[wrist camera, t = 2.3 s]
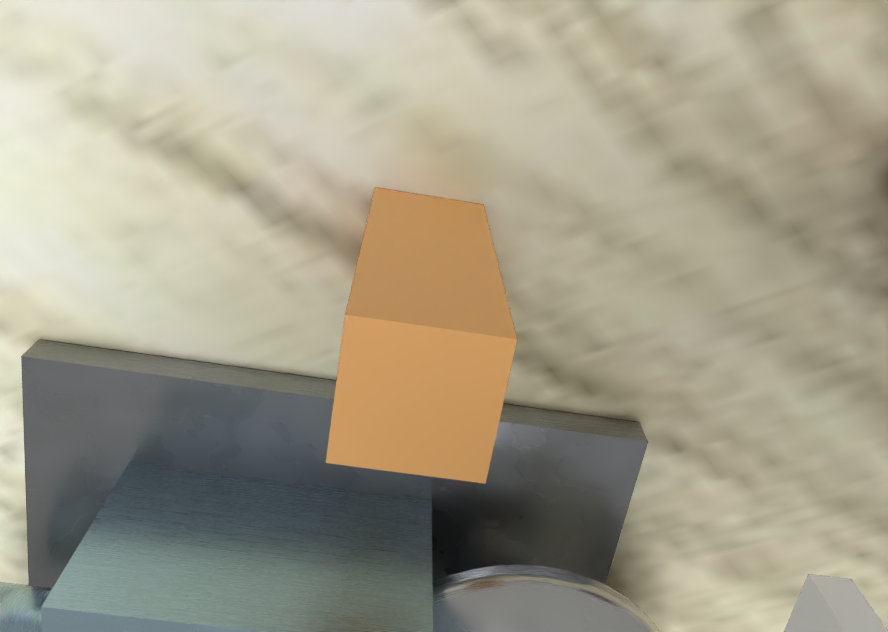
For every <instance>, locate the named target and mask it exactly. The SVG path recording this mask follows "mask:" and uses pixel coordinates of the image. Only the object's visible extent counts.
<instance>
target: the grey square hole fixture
mask: <svg viewBox="0 0 888 632" xmlns="http://www.w3.org/2000/svg"><path fill="white" fill-rule="evenodd" d="M21 358H22V388H23V419H24V450H25V481H26V511H27V542H28V573H29V585H23V584H14V583H5V582H0V605H1V617H0V632H659V631H658V629H657V628H656V626H655V625H654V623H653V622H652V620H651V619H650V618H649V617H648V616H647V615H646V614H645V613H644V612H643V611H642V610H641V609H640V608H639V607H638V606H637V605H636V604H634V603H633V602H632V601H631V600H629V599H628V598H627V597H626V596H624V595H623V594H621V593H619V592H618V591H616V590H614V589H613V588H611V587H609V586H607V585H605V582H606V579H607V575H608V572H609V569H610V566H611V562H612V559H613V556H614V552H615V549H616V546H617V542H618V539H619V536H620V533H621V529H622V526H623V523H624V519H625V516H626V513H627V509H628V506H629V503H630V500H631V496H632V493H633V490H634V486H635V483H636V480H637V476H638V473H639V470H640V467H641V463H642V460H643V457H644V453H645V450H646V447H647V443H648V440H647V438H646V436H645V434H644V432H643V430H642V428H641V426H640V424H639V422H632V421H625V420H618V419H611V418H603V417H596V416H589V415H582V414H574V413H567V412H560V411H553V410H545V409H538V408H531V407H524V406H517V405H509V404H503V407H502V411H501V416H500V420H499V425H498V429H497V434H496V438H495V443H494V447H493V452H492V456H491V461H490V466H489V470H488V475H487V479H486V484H485V483H477V482H469V481H461V480H454V479H446V478H438V477H431V476H423V475H415V474H407V473H400V472H392V471H384V470H377V469H369V468H361V467H353V466H346V465H338V464H330V463H326V457H327V449H328V441H329V434H330V426H331V418H332V411H333V403H334V396H335V388H336V381H335V380H328V379H321V378H314V377H306V376H299V375H292V374H285V373H278V372H270V371H263V370H256V369H249V368H241V367H234V366H227V365H220V364H212V363H205V362H198V361H191V360H183V359H176V358H169V357H162V356H154V355H147V354H140V353H133V352H125V351H118V350H111V349H104V348H96V347H89V346H82V345H75V344H67V343H60V342H53V341H46V340H38V341H37V342H36V343H35V344H34V345H33V346H32V347H31V348H30V349H29V350H28V351H26V352H25V353H24V354H23V355H22V356H21Z"/></svg>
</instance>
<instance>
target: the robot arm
mask: <svg viewBox="0 0 888 632" xmlns="http://www.w3.org/2000/svg"><path fill="white" fill-rule="evenodd" d="M0 617H1V605H0ZM784 632H888V630H887V628H886V627H885V626H884V624H883V623H882V621H881V620H880V619H879V617H878V616H877V614H876V613H875V612H874V610H873V609H872V607H871V606H870V604H869V603H868V602H867V600H866V599H865V597H864V596H863V595H862V593H861V592H860V590H859V589H858V587H857V586H856V585H855V583H854V582H853V580H852V579H847V578H838V577H830V576H822V575H813V574H808V576H807V578H806V581H805V583H804V585H803V588H802V590H801V592H800V595H799V597H798V599H797V602H796V604H795V607H794V609H793V611H792V614H791V616H790V618H789V621H788V623H787V625H786V628H785V630H784Z"/></svg>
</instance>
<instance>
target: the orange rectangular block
mask: <svg viewBox="0 0 888 632" xmlns="http://www.w3.org/2000/svg"><path fill="white" fill-rule="evenodd" d="M516 343H517V336H516V332H515V328H514V324H513V320H512V316H511V312H510V308H509V304H508V300H507V296H506V292H505V289H504V285H503V281H502V277H501V273H500V269H499V265H498V261H497V257H496V253H495V249H494V245H493V241H492V237H491V233H490V229H489V225H488V221H487V217H486V213H485V209H484V205H483V204H477V203H470V202H464V201H458V200H451V199H445V198H439V197H432V196H426V195H420V194H414V193H407V192H401V191H395V190H388V189H382V188H376V187H375V189H374V193H373V198H372V202H371V206H370V210H369V215H368V219H367V223H366V227H365V232H364V236H363V240H362V245H361V249H360V253H359V257H358V262H357V266H356V270H355V274H354V279H353V283H352V287H351V292H350V296H349V300H348V304H347V309H346V313H345V319H344V327H343V335H342V342H341V350H340V357H339V365H338V373H337V380H336V388H335V396H334V403H333V411H332V418H331V426H330V434H329V441H328V449H327V457H326V463H330V464H338V465H346V466H353V467H361V468H369V469H377V470H384V471H392V472H400V473H407V474H415V475H423V476H431V477H438V478H446V479H454V480H461V481H469V482H477V483H485V484H486V479H487V475H488V470H489V466H490V461H491V456H492V452H493V447H494V443H495V438H496V434H497V429H498V425H499V420H500V416H501V411H502V407H503V402H504V398H505V393H506V389H507V384H508V379H509V375H510V370H511V366H512V361H513V357H514V352H515V348H516Z"/></svg>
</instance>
